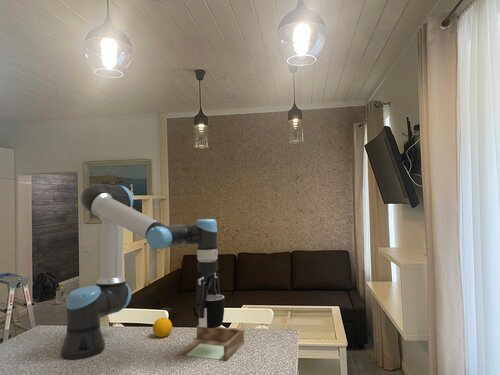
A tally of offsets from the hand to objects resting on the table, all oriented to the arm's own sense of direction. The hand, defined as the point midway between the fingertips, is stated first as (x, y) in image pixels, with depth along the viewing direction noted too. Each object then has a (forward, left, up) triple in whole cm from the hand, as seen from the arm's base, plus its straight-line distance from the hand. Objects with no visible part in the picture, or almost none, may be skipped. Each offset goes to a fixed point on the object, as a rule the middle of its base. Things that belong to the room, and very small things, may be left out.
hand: (208, 322), depth 127 cm
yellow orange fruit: (-28, +13, -12) cm, 33 cm away
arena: (-1, +3, -11) cm, 12 cm away
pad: (0, 0, -10) cm, 10 cm away
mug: (0, 0, -1) cm, 1 cm away
